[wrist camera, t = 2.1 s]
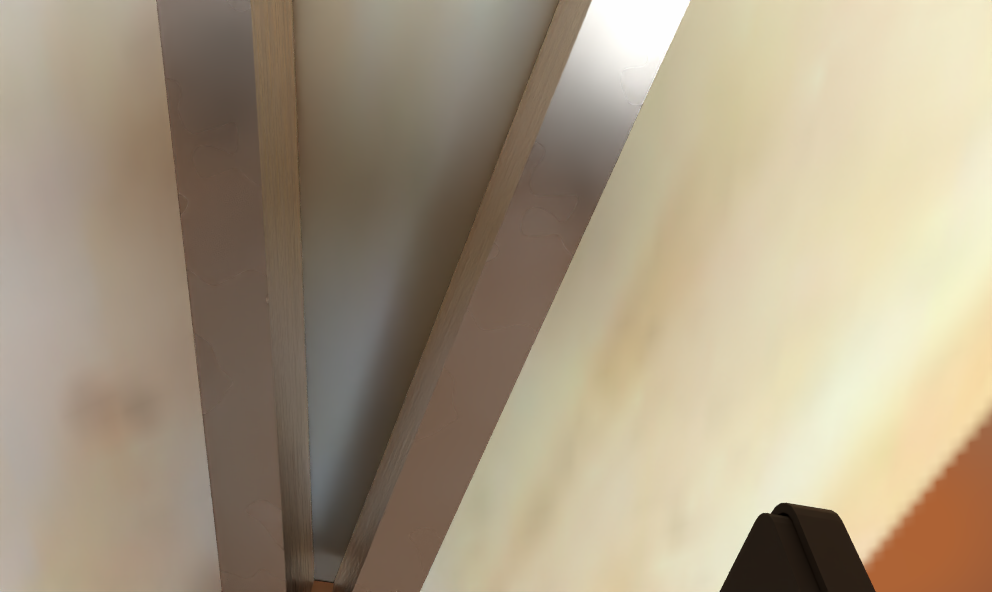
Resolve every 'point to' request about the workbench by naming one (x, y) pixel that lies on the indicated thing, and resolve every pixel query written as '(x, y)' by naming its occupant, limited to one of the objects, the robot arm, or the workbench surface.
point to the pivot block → (322, 586)
